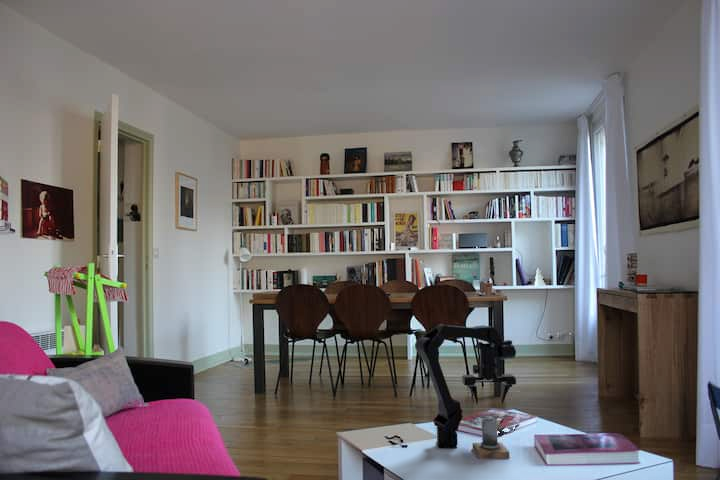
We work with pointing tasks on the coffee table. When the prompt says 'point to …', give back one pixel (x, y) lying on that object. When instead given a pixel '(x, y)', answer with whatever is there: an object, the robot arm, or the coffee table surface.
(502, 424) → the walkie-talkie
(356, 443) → the coffee table surface
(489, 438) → the cylinder
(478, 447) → the stand
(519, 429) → the coffee table surface
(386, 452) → the coffee table surface
